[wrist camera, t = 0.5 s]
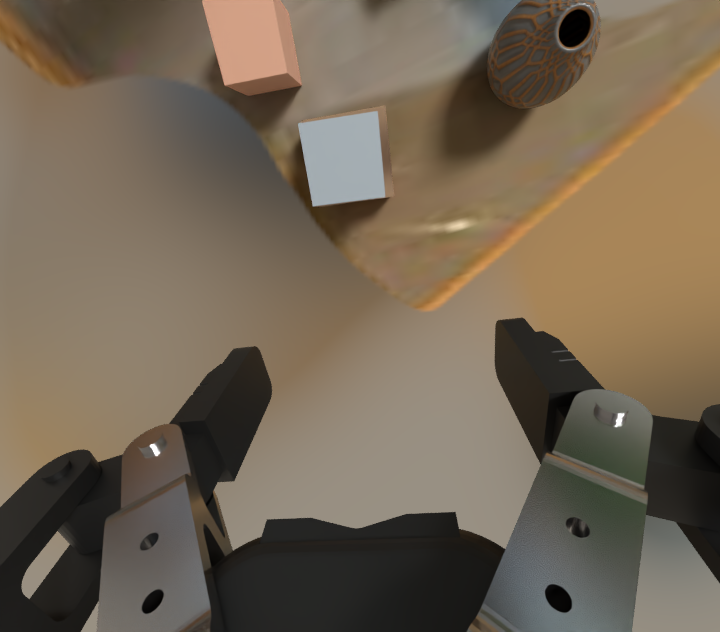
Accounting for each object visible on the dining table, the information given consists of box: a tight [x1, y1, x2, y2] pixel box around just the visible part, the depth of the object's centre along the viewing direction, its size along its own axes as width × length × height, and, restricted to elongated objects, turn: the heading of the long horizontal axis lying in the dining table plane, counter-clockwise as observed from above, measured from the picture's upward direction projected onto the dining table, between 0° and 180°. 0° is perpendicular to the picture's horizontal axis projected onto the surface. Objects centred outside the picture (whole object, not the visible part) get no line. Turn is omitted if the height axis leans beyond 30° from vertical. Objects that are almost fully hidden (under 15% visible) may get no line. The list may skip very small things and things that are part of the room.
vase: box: [487, 0, 601, 109], centre depth 24 cm, size 7×7×9 cm
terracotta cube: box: [202, 0, 302, 96], centre depth 26 cm, size 5×5×5 cm
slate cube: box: [298, 111, 385, 206], centre depth 26 cm, size 6×6×6 cm
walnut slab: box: [302, 106, 394, 208], centre depth 30 cm, size 7×7×4 cm
